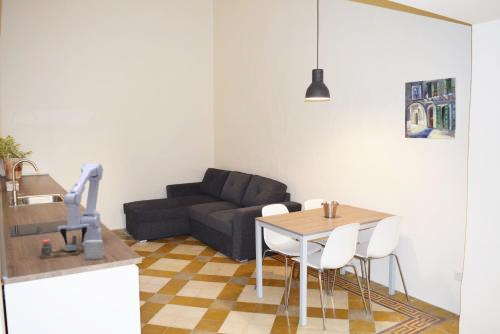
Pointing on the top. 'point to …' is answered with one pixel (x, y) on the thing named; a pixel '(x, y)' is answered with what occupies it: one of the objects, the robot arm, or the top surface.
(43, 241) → the button
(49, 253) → the rail bed
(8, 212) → the top surface
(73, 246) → the carriage
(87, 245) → the medicine box
